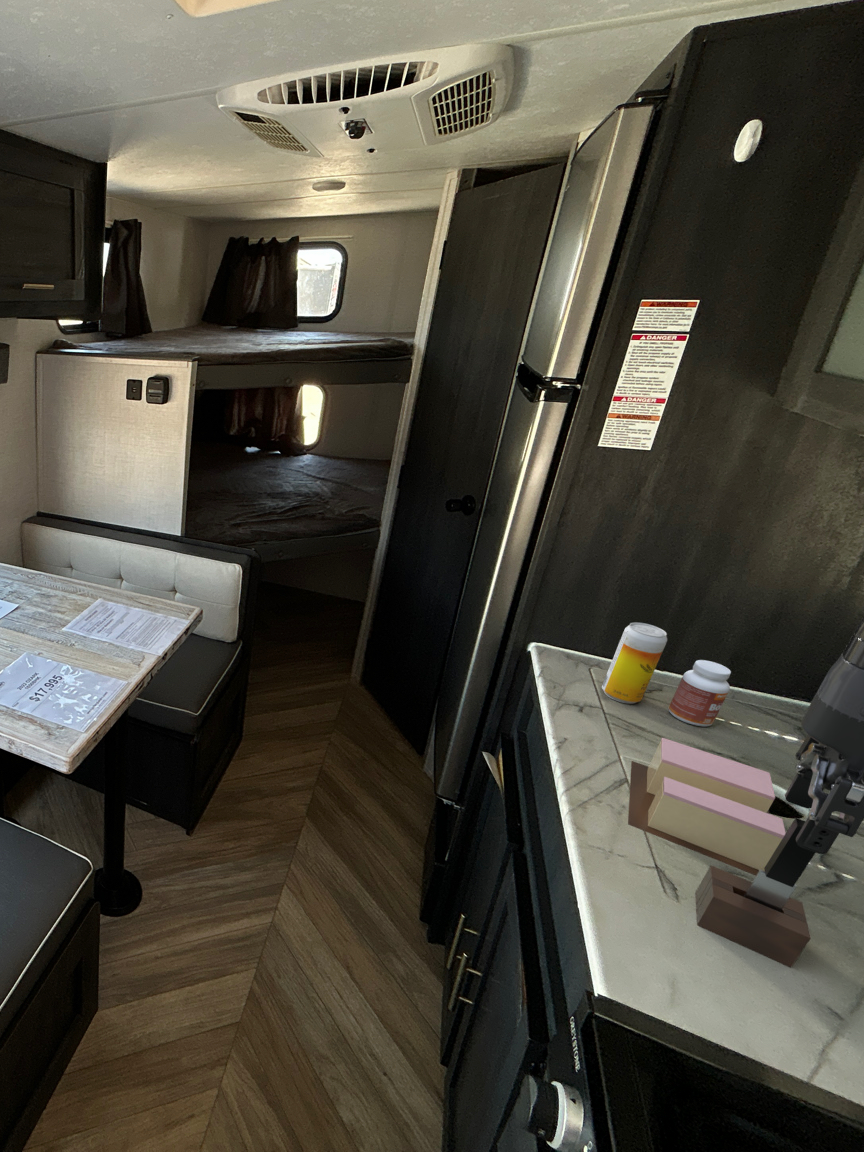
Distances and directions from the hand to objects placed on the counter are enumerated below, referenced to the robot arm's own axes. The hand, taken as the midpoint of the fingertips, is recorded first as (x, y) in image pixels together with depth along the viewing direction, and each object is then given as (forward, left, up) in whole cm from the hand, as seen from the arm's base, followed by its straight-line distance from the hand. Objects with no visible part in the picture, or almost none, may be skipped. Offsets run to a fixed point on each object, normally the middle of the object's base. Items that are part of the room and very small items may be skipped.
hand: (803, 825), depth 71 cm
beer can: (+13, -54, -18) cm, 58 cm away
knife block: (0, 0, -18) cm, 18 cm away
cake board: (+3, -21, -18) cm, 28 cm away
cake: (+3, -25, -17) cm, 31 cm away
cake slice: (+3, -15, -17) cm, 23 cm away
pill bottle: (+3, -54, -18) cm, 57 cm away
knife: (0, 0, -17) cm, 17 cm away
